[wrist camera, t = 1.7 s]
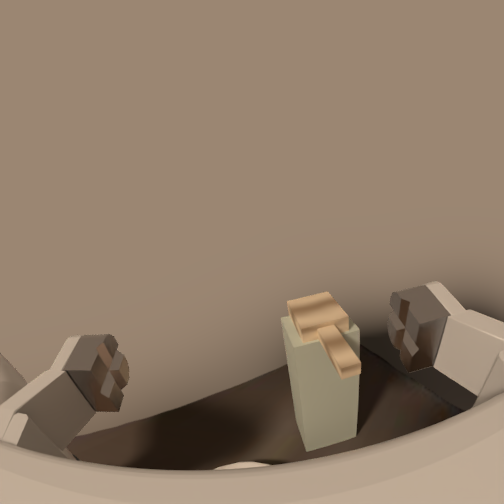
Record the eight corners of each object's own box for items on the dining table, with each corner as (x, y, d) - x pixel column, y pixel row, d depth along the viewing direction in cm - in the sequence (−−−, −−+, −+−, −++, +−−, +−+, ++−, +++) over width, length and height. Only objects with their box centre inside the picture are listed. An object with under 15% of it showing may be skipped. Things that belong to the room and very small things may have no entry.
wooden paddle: (377, 367, 34) (378, 352, 34) (323, 384, 34) (322, 369, 33) (328, 304, 52) (327, 291, 51) (288, 314, 51) (286, 301, 51)
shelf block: (306, 451, 50) (293, 347, 42) (296, 420, 59) (280, 317, 51) (356, 436, 51) (359, 329, 43) (341, 407, 59) (337, 303, 52)
